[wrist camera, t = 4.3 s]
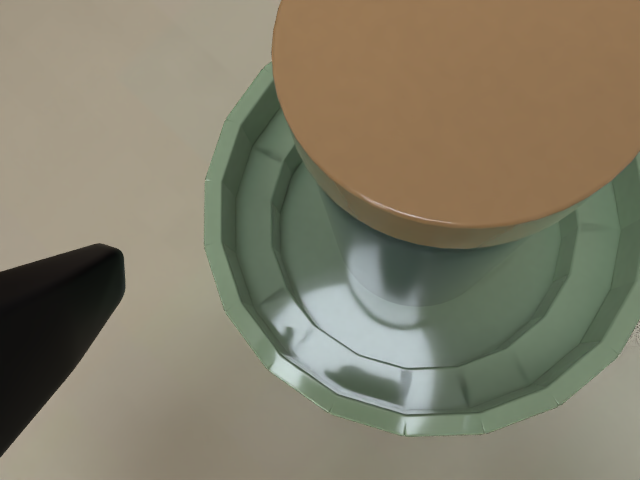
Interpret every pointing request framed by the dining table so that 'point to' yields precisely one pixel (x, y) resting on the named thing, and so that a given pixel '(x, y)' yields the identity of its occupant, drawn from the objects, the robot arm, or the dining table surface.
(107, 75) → the dining table surface
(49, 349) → the robot arm
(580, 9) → the canister
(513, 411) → the bowl
